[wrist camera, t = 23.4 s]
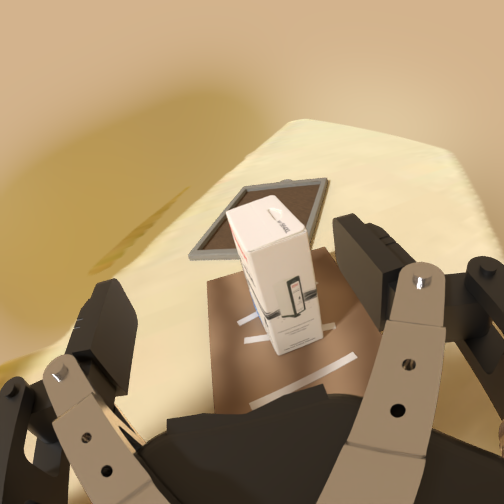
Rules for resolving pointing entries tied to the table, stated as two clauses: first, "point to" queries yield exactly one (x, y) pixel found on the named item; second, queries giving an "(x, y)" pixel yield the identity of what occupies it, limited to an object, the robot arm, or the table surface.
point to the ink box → (278, 271)
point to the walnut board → (296, 361)
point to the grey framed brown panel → (287, 191)
